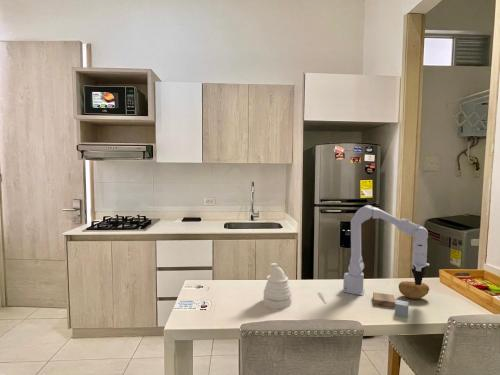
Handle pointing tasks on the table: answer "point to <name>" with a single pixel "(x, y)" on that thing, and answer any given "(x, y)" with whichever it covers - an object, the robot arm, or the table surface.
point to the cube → (401, 308)
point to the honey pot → (277, 290)
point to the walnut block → (384, 300)
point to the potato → (413, 289)
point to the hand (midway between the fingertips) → (418, 282)
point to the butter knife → (321, 297)
